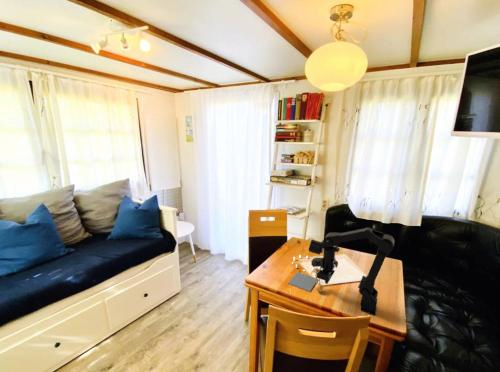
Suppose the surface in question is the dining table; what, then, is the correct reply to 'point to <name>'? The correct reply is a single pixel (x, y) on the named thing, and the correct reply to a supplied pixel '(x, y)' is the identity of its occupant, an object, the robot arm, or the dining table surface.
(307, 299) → the dining table surface
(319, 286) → the figurine
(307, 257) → the game piece set
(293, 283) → the mat
